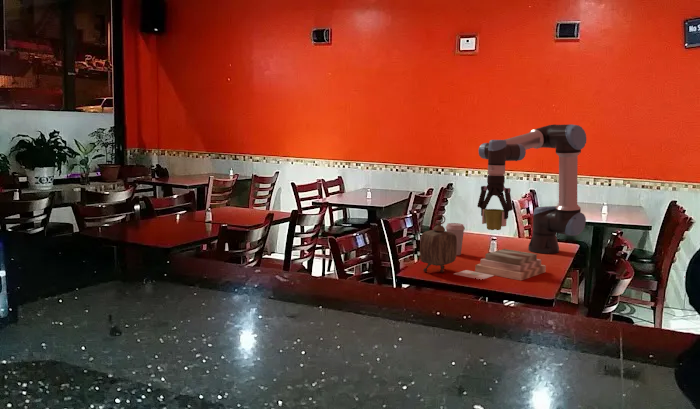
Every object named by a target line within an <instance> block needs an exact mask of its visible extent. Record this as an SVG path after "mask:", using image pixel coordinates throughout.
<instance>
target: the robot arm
mask: <svg viewBox="0 0 700 409" xmlns="http://www.w3.org/2000/svg"><path fill="white" fill-rule="evenodd" d="M586 144H587V133H586V131H585V129H584V128H583V127H582V126H581V125H577V124H572V123H571V124H548V125H545V126H541V127H538V128H535V129H531V130H530V131H529V132H527V133H524V134H520V135H516V136H513V137H509V138H506V139H490V140H489V142H483V143H482V144H480V145H479V146H478V156H479V157H480V158H481V159H484V160H486V161H487V174H488V175H487V176H486V180H487V181H486V182H487V185H481V187H480V195H479V197H478V198H479V199H478V202H477V208H479V209H480V215H481V219H482V220H481V224H482V225H484V224H486V215H485V211H484V210H485V209H487V208H488V205H489V202H490V201H491V199H492V197H493V196H495V197H497V198H498V201H499V203H500V205H501V207H502V210H504V211H503V212H502V226H501V228H502V227H507V221H508V219H509V212H510V211H514V210H513V209H514V208H513V207H514V206H513V202H512V197H511V189H512V188H510V187H505V179H506V177H505V174H506V162H518V161H519V162H520V161H522V160H524V159H525V157H526V154H527V153H526V152H527V151H526V150H531V149H540V148H541V149H543V148H546V149H547V148H548V149H555V154H556V155H557V156H558V205H557V206H555V205H554V206H553V205H552V206H551V205H549V206H546V205H545V206H537V207H535V208H534V209H533V214H532V216H533V218H532V236H531V238H530V241H529V243H528V251H529V252H533V253H536V254H538V253H539V254H557V253H559V252H560V246H559V243H558V242H559V241H558V239H557V234H561V235H566V236H575V237H576V236H578V235H579V234H581V233H582V232H583V231H584V229H585V226H586V222H587V218H586V215H585V214H584V213H583V212H581V208H582V207H580V206H579V205H578V163H579V162H578V157H579V155H580V154H581V152H582V150H583V149H584V148H585V146H586ZM487 191H488V192H487ZM486 225H487V224H486Z"/></svg>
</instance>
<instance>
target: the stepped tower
mask: <svg viewBox="0 0 700 409" xmlns="http://www.w3.org/2000/svg"><path fill="white" fill-rule="evenodd" d="M537 257H538V253H534V252H533V253H531V252H525V251H519V250H513V249H507V248H502V249H499V250H496V251H492V252H491V251H490V252H487V253H485V255H484V258H480V262H479V263H477V264H475V266H474V267H475V269H474V272H479V273H484V274H489V275H494V276H495V277H501V278H505V279H511V280H517V281H523V280H524V281H525V280H527V279H529V278H532V277H535V276H538V275H541V274H543V273H546V270H547V268H546V267H547V266H546V264H542V259H539V258H537Z"/></svg>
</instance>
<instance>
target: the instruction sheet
mask: <svg viewBox="0 0 700 409" xmlns="http://www.w3.org/2000/svg"><path fill="white" fill-rule="evenodd" d="M453 275H456V276H461V277H466V278H470V279H475V278H476V280H479V279H480V281H482V279H483V280H486V279H488V278H492V277H494V276H495V275H490V274H485V273H480V272H475V270H474V271H473V270H469V269H465V270H464V269H463V270H462V271H459V272H455V273H453Z"/></svg>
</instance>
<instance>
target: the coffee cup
mask: <svg viewBox="0 0 700 409" xmlns="http://www.w3.org/2000/svg"><path fill="white" fill-rule="evenodd" d="M465 230H466V228H465V226H464V224H463V223H459V222H458V223H457V222H451V223H447V224H446V226H445V231H447V232H452V233H454V234H455V235H456V238H457V252H456V256H461V254H462V249H463V248H462V247H463V240H464V232H465Z"/></svg>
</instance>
